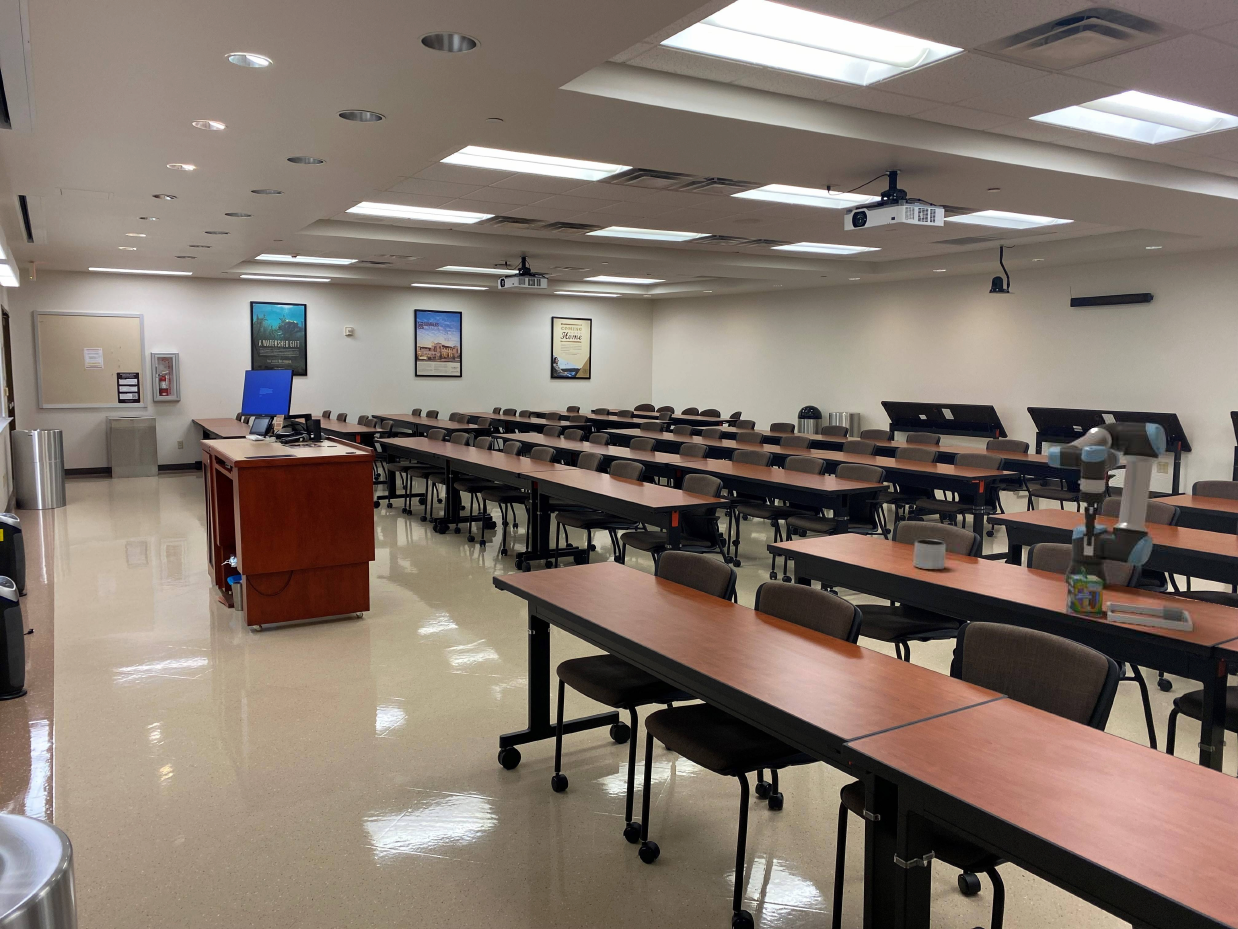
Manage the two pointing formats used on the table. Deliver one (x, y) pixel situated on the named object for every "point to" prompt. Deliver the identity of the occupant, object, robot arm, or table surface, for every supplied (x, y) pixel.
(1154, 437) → the robot arm
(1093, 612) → the pad
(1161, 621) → the tray
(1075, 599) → the chalk box
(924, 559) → the planter
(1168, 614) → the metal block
